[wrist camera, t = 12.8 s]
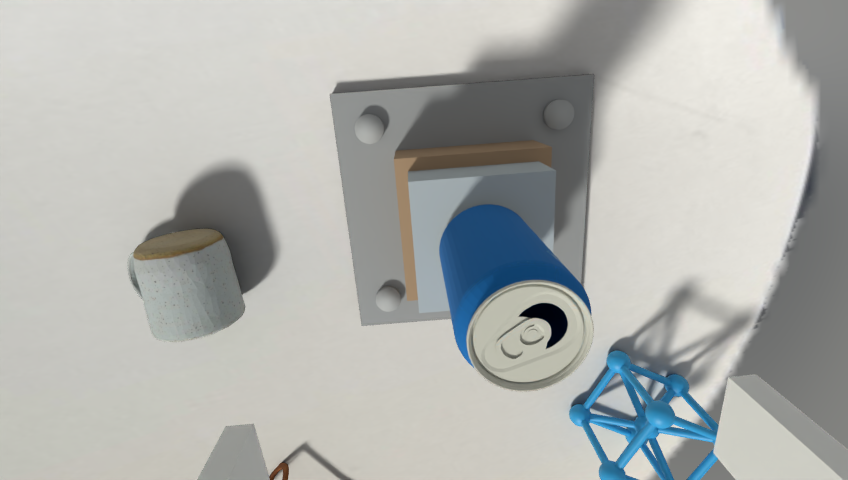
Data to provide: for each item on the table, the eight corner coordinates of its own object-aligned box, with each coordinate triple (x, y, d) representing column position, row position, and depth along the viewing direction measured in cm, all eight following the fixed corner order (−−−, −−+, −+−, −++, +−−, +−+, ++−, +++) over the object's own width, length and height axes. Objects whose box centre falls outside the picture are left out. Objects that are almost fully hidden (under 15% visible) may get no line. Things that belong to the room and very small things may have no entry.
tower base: (331, 93, 35) (303, 93, 26) (589, 74, 35) (654, 67, 26) (362, 320, 43) (349, 385, 33) (575, 303, 43) (623, 362, 33)
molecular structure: (562, 412, 48) (600, 490, 38) (610, 343, 45) (664, 410, 35) (633, 438, 49) (687, 520, 40) (684, 374, 46) (755, 445, 37)
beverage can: (546, 250, 30) (630, 346, 19) (474, 302, 31) (512, 422, 20) (493, 182, 28) (551, 241, 17) (419, 240, 29) (426, 332, 18)
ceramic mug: (236, 219, 39) (194, 249, 31) (258, 298, 41) (224, 341, 34) (125, 233, 39) (58, 265, 32) (154, 310, 42) (98, 355, 34)
